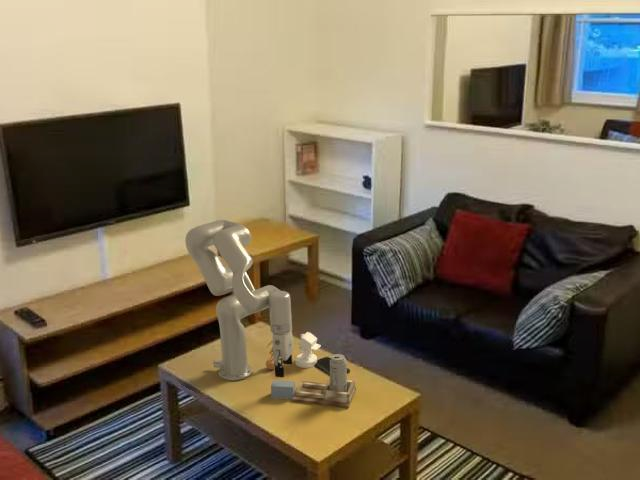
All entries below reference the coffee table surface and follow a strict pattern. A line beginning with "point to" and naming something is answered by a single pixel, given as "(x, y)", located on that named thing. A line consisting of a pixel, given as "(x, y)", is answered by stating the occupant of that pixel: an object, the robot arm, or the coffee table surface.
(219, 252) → the robot arm
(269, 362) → the figurine
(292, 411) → the coffee table surface
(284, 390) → the wing block
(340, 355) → the energy drink can
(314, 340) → the character figurine
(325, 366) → the phone
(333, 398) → the jig
